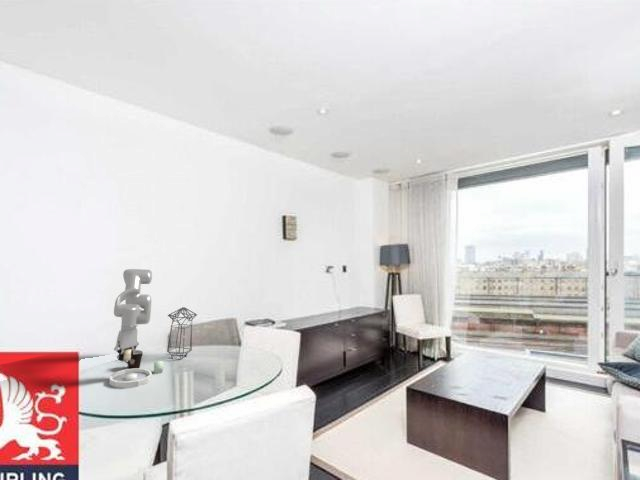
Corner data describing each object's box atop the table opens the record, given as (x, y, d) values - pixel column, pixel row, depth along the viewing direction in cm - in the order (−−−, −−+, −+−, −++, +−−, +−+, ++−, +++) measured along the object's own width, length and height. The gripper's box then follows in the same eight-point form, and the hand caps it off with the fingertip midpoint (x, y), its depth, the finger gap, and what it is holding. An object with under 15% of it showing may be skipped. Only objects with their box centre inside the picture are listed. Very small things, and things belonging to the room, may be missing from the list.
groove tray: (101, 381, 191) (101, 376, 191) (136, 370, 209) (136, 365, 210) (124, 391, 181) (124, 385, 181) (158, 379, 200) (159, 373, 200)
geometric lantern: (162, 358, 233) (166, 307, 235) (176, 352, 249) (180, 304, 251) (182, 361, 230) (186, 309, 232) (195, 355, 245) (199, 306, 247)
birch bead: (118, 359, 197) (119, 349, 197) (127, 357, 202) (128, 347, 202) (124, 361, 195) (125, 351, 195) (132, 359, 199) (133, 349, 199)
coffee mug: (144, 367, 216) (146, 351, 216) (133, 371, 208) (134, 355, 208) (130, 364, 220) (132, 348, 220) (119, 368, 212) (120, 352, 212)
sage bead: (151, 372, 209) (152, 362, 209) (158, 370, 213) (159, 360, 213) (157, 374, 207) (157, 364, 207) (164, 372, 211) (165, 362, 211)
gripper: (137, 324, 208) (135, 354, 207) (109, 329, 193) (107, 361, 192) (145, 326, 205) (143, 357, 204) (118, 331, 190) (115, 364, 189)
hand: (125, 358), depth 198 cm, fingers closed on birch bead, 4 cm apart
